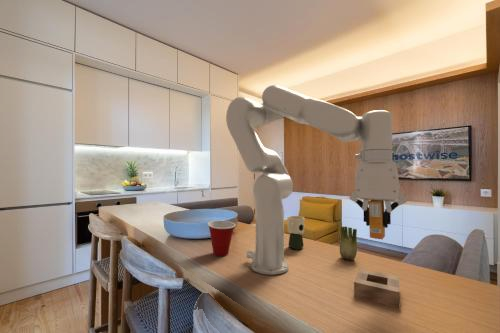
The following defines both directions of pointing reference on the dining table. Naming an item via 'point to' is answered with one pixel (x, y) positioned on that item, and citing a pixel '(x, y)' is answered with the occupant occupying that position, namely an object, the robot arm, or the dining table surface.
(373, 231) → the supplement box
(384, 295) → the square wooden frame
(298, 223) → the character mug
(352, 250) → the fennel bulb
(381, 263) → the dining table surface
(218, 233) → the plastic cup
